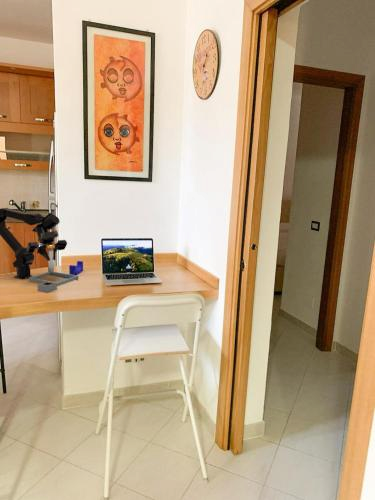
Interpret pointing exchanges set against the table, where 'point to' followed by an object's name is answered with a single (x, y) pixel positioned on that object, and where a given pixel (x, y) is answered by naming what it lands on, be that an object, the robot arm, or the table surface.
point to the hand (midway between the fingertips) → (51, 260)
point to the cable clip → (76, 268)
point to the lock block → (47, 286)
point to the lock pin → (50, 257)
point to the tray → (56, 274)
